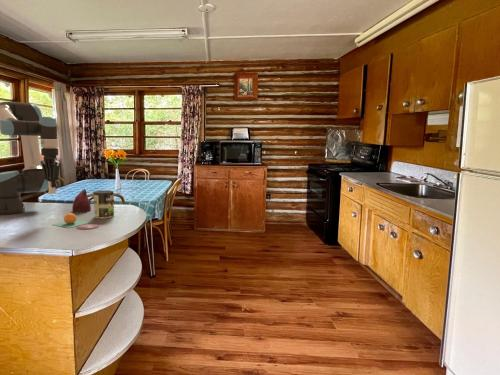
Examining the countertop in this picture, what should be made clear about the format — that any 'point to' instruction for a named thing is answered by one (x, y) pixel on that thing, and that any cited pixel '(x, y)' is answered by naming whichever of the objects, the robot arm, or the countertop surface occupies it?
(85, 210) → the vegetable
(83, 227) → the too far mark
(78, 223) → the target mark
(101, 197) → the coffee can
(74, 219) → the ball
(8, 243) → the countertop surface
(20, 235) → the countertop surface
